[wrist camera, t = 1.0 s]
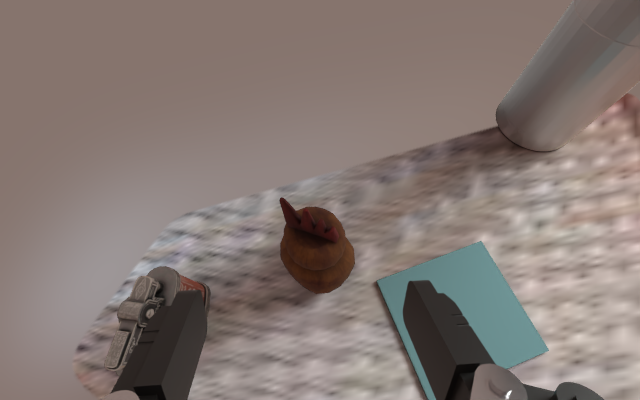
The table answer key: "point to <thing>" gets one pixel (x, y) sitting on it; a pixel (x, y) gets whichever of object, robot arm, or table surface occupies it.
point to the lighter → (147, 310)
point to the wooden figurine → (315, 248)
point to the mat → (469, 306)
